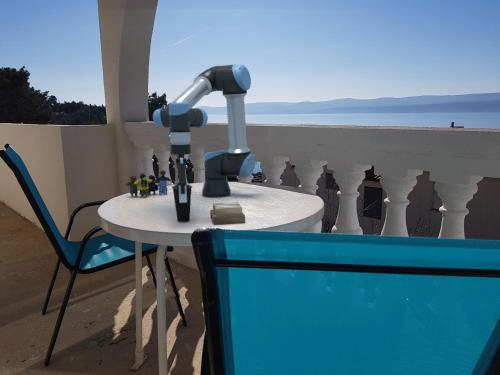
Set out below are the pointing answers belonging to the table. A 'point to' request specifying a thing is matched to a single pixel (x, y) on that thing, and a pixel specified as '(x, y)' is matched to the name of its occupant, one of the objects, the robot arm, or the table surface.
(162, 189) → the doll family
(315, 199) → the table surface
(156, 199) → the table surface
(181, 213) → the drinking cup
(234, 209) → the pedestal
